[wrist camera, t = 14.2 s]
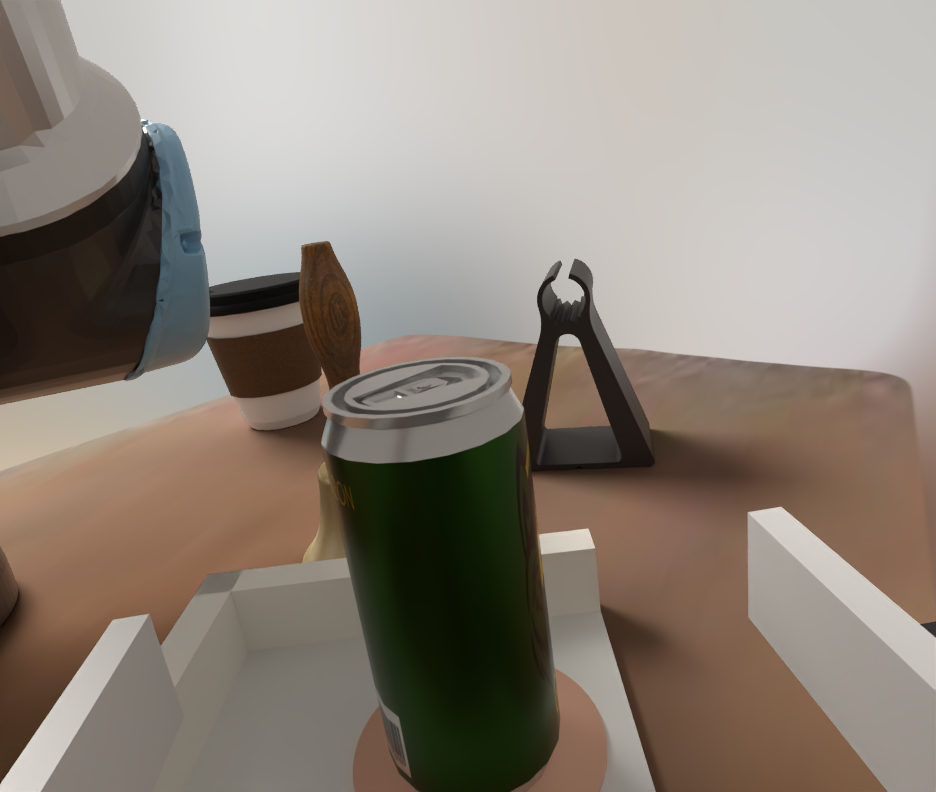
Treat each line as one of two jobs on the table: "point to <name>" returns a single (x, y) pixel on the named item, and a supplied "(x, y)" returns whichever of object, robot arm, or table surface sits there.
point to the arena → (364, 685)
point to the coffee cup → (265, 350)
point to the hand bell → (329, 361)
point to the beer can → (447, 569)
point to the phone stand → (628, 421)
